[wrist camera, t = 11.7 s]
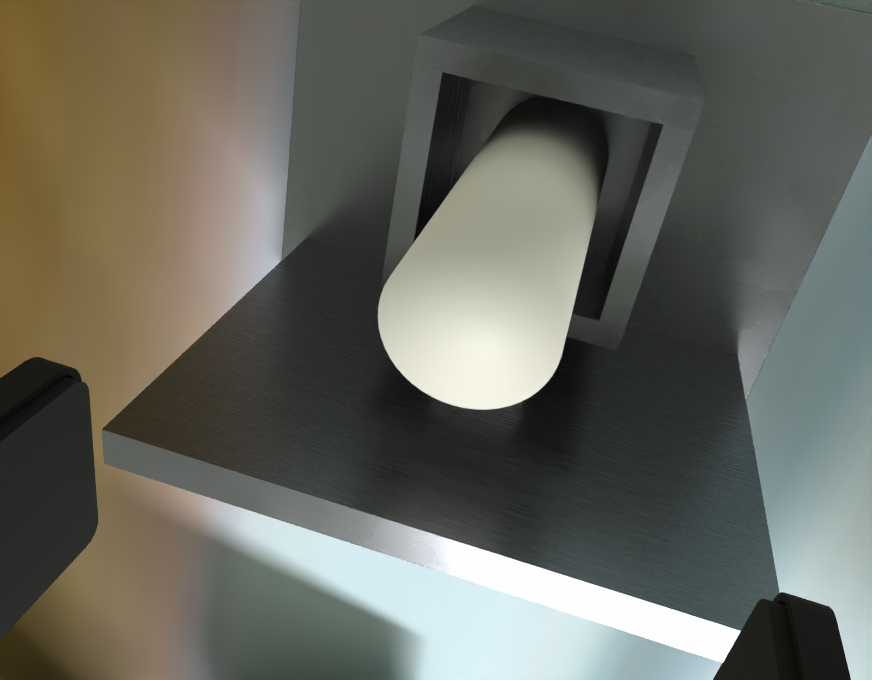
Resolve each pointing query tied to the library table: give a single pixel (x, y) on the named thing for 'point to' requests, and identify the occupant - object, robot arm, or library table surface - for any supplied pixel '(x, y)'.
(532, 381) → the off-white rounded cylinder
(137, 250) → the library table surface
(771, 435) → the library table surface
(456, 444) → the cup bracket
